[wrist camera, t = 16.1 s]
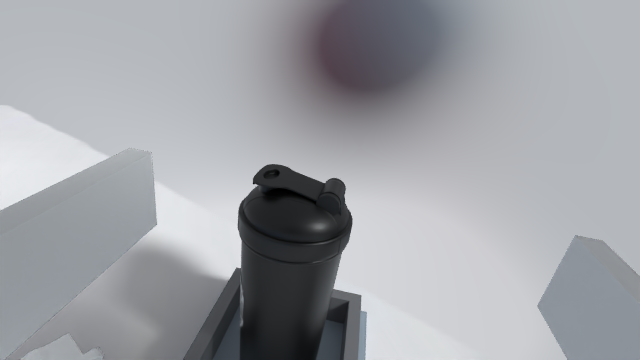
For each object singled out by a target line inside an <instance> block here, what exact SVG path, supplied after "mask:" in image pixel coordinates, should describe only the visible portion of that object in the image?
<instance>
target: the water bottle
mask: <svg viewBox="0 0 640 360" xmlns="http://www.w3.org/2000/svg"><path fill="white" fill-rule="evenodd" d="M253 184H257V185H258V186H257V187H256V188H254V189H253V190H252V191H251V192H250V194H249V195H248V196H247V197H246V198H245V199H244V200H243V201H242V202H241V204H240V207H239V212H238V230H239V234H240V237H241V240H242V251H241V276H240V360H316V359H317V354H318V350H319V346H320V342H321V338H322V333H323V329H324V325H325V321H326V317H327V313H328V308H329V304H330V300H331V296H332V292H333V288H334V283H335V279H336V275H337V271H338V267H339V262H340V258H341V254H342V251H343V250H344V248H345V247H346V245H347V243H348V241H349V237H350V233H351V228H352V216H351V213H350V211H349V210H348V208H347V206H346V204H345V197H344V194H345V190H346V188H345V184H344V183H343V182H342V181H341V180H339V179H337V178H332V179H329V180H328V181H326V183H322V182H320V181H317V180H315V179H312V178H310V177H307V176H305V175H302V174H300V173H297V172H295V171H293V170H291V169H290V168H288V167H286V166H282V165H275V164H271V165H266V166H265V167H263V168H262V169H261V170H260V171H259V172H258V173H257V174H256V175H255V176H254V178H253Z"/></svg>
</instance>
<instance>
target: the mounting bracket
mask: <svg viewBox="0 0 640 360" xmlns="http://www.w3.org/2000/svg"><path fill="white" fill-rule="evenodd" d="M103 356H104V354H103V352H102V351H101V349H100V348H99V347H97V348H93V349H91V350H90V351H88V352H86V353H85V354H83V353H82V352H81V350H80V349H79V347H78V346H77V344H76V343H75V341H74V339H73V338H72V336H71V335H70V333H67V334H65V335H64V336H62V337H60V338H58V339H56V340H55V341H53V342H51V343H49V344H47V345H45V346H43V347H41V348H36V349H34V350H32V351H31V352H29V353H27V354H26V355H25V356H24V357H23V358H21V359H20V360H102V359H103Z"/></svg>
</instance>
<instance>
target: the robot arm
mask: <svg viewBox="0 0 640 360" xmlns="http://www.w3.org/2000/svg"><path fill="white" fill-rule="evenodd" d="M156 225H157V219H156V204H155V190H154V176H153V162H152V152H148V151H142V150H138V149H132V148H129V149H127V150H125V151H123V152H120V153H119V154H116V155H114V156H112V157H110V158H108V159H106V160H104V161H102V162H100V163H98V164H96V165H94V166H92V167H90V168H87V169H85V170H83V171H81V172H79V173H77V174H75V175H73V176H71V177H69V178H67V179H65V180H63V181H61V182H59V183H57V184H54V185H52V186H50V187H48V188H46V189H44V190H42V191H40V192H38V193H36V194H34V195H32V196H30V197H28V198H26V199H23V200H21V201H19V202H17V203H15V204H13V205H11V206H9V207H7V208H5V209H3V210H1V211H0V360H5V359H6V358H7V357H8V356H9V355H10V354H11V353H13V352H14V351H15V350H16V349H17V348H18V347H19V346H20V345H22V344H23V343H24V342H25V341H26V340H27V339H28V338H29V337H31V336H32V335H33V334H34V333H35V332H36V331H37V330H38V329H40V328H41V327H42V326H43V325H44V324H45V323H46V322H47V321H49V320H50V319H51V318H52V317H53V316H54V315H55V314H57V313H58V312H59V311H60V310H61V309H62V308H63V307H64V306H66V305H67V304H68V303H69V302H70V301H71V300H72V299H73V298H75V297H76V296H77V295H78V294H79V293H80V292H81V291H82V290H84V289H85V288H86V287H87V286H88V285H89V284H90V283H91V282H93V281H94V280H95V279H96V278H97V277H98V276H99V275H100V274H102V273H103V272H104V271H105V270H106V269H107V268H108V267H109V266H111V265H112V264H113V263H114V262H115V261H116V260H117V259H119V258H120V257H121V256H122V255H123V254H124V253H125V252H126V251H128V250H129V249H130V248H131V247H132V246H133V245H134V244H135V243H137V242H138V241H139V240H140V239H141V238H142V237H143V236H144V235H146V234H147V233H148V232H149V231H150V230H151V229H152V228H153V227H155V226H156ZM538 308H539V310H540V312H541V314H542V315H543V317H544V319H545V321H546V322H547V324H548V326H549V328H550V329H551V331H552V333H553V335H554V337H555V338H556V340H557V342H558V344H559V345H560V347H561V349H562V351H563V352H564V354H565V356H566V358H567V360H640V276H639V275H638V274H637V273H636V272H635V271H634V270H633V269H632V268H631V267H630V266H629V265H627V263H625V262H624V261H623V260H622V259H621V258H620V257H619V256H618V255H617V254H616V253H615V252H614V251H613V250H612V249H611V248H610V247H609V246H608V245H607V244H606V243H605V242H603V241H602V240H597V239H592V238H586V237H582V236H576V235H575V236H574V238H573V240H572V242H571V244H570V246H569V248H568V249H567V251H566V253H565V255H564V257H563V259H562V261H561V263H560V264H559V266H558V268H557V270H556V272H555V274H554V276H553V277H552V279H551V281H550V283H549V285H548V287H547V289H546V291H545V293H544V294H543V296H542V298H541V300H540V302H539V303H538Z"/></svg>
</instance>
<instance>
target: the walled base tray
mask: <svg viewBox="0 0 640 360" xmlns="http://www.w3.org/2000/svg"><path fill="white" fill-rule="evenodd" d="M240 276H241V268H236V269H235V271H234V273H233V275H232V276H231V278H230V280H229V281H228V283H227V285H226V287H225V288H224V290H223V292H222V294H221V295H220V297H219V299H218V300H217V302H216V304H215V306H214V307H213V309H212V311H211V312H210V314H209V316H208V318H207V319H206V321H205V323H204V325H203V326H202V328H201V330H200V331H199V333H198V335H197V337H196V338H195V340H194V342H193V343H192V345H191V347H190V349H189V350H188V352H187V354H186V355H185V357H184V359H183V360H240ZM366 318H367V312H364V311H361V295H357V294H353V293H348V292H344V291H339V290H335V289H333V292H332V296H331V300H330V304H329V308H328V313H327V317H326V321H325V325H324V329H323V333H322V338H321V342H320V346H319V350H318V354H317V359H316V360H365V350H366Z"/></svg>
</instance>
